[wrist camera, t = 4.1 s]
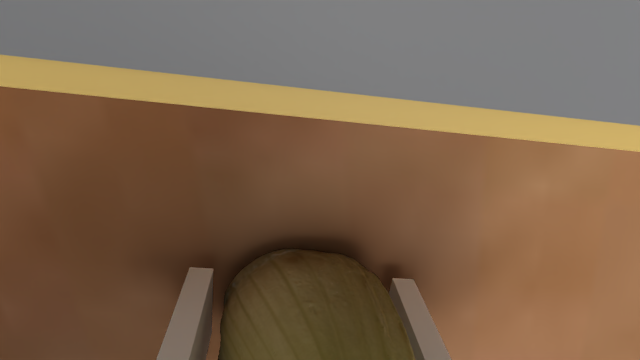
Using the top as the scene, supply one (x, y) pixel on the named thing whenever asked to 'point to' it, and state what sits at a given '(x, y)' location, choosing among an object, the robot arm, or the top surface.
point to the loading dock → (349, 60)
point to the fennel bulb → (310, 311)
